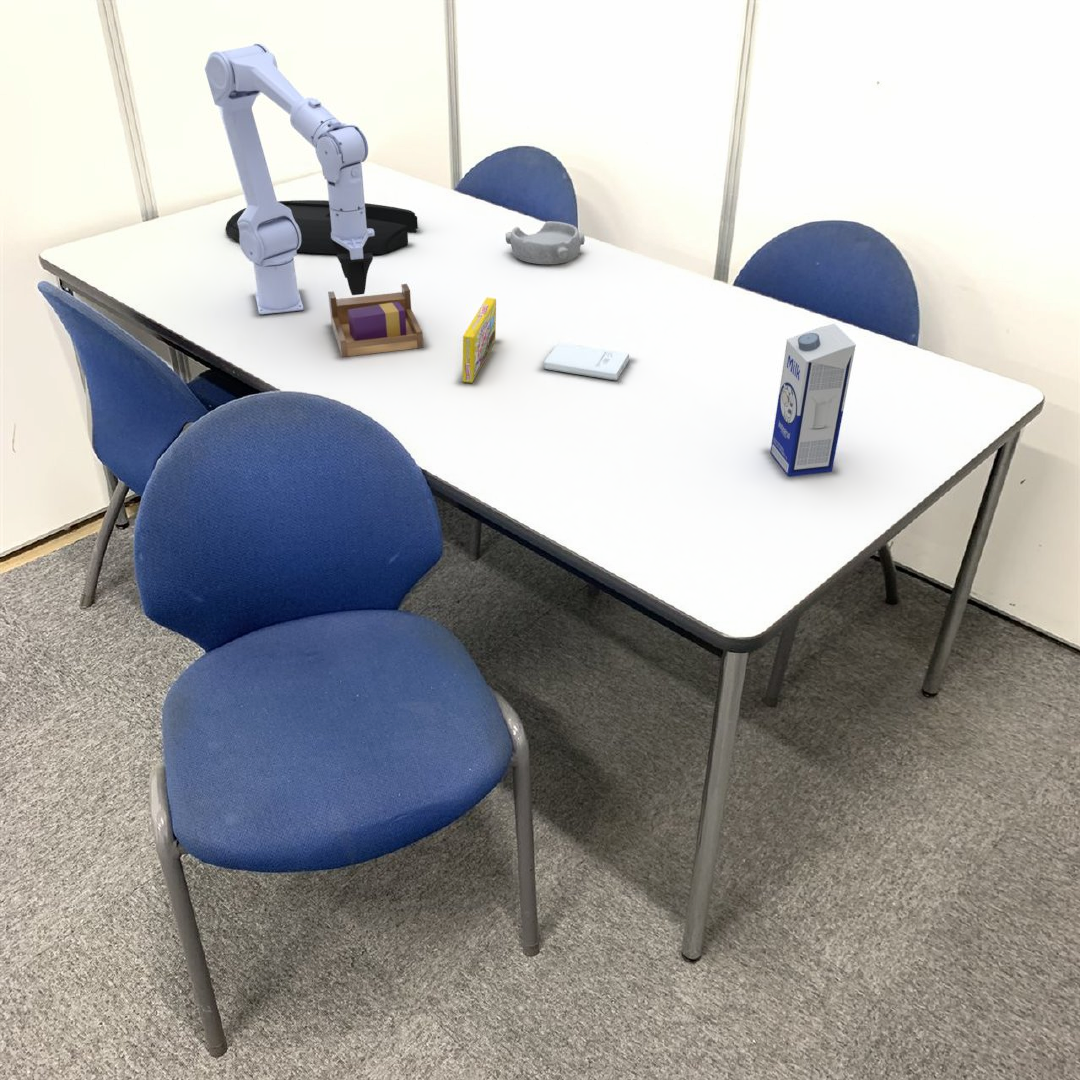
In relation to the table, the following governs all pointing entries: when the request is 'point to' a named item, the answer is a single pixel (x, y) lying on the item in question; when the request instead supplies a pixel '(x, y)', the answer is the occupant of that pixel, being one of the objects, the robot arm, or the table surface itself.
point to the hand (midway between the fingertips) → (354, 285)
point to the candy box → (479, 339)
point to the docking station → (317, 228)
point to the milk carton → (812, 400)
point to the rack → (379, 344)
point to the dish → (547, 243)
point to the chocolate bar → (377, 321)
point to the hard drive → (586, 361)
